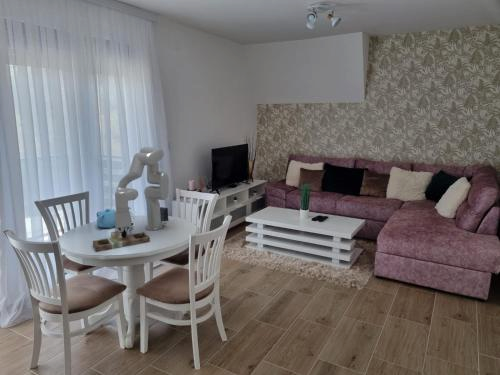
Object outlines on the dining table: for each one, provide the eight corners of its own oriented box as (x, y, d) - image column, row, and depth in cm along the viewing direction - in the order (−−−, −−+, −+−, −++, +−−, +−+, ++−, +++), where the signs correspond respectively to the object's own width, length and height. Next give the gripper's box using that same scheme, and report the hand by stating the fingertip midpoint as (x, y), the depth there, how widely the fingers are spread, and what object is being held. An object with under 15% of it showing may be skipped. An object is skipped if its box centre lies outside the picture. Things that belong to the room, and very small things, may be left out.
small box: (168, 220, 284) (168, 207, 282) (164, 222, 278) (163, 209, 276) (157, 219, 288) (156, 206, 286) (152, 221, 282) (152, 208, 280)
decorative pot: (121, 227, 265) (120, 210, 263) (98, 230, 258) (96, 212, 256) (118, 222, 280) (117, 205, 277) (96, 224, 273) (95, 207, 270)
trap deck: (144, 236, 247) (143, 232, 246) (149, 241, 236) (149, 237, 235) (93, 245, 229) (92, 240, 229) (96, 251, 219) (96, 247, 218)
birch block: (119, 238, 234) (118, 230, 233) (121, 240, 229) (121, 233, 228) (111, 239, 231) (110, 232, 230) (113, 242, 226) (113, 234, 225)
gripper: (132, 207, 236) (134, 233, 240) (108, 210, 228) (111, 237, 232) (135, 209, 230) (137, 236, 234) (111, 212, 222) (113, 240, 226)
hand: (124, 236), depth 233 cm, fingers closed
